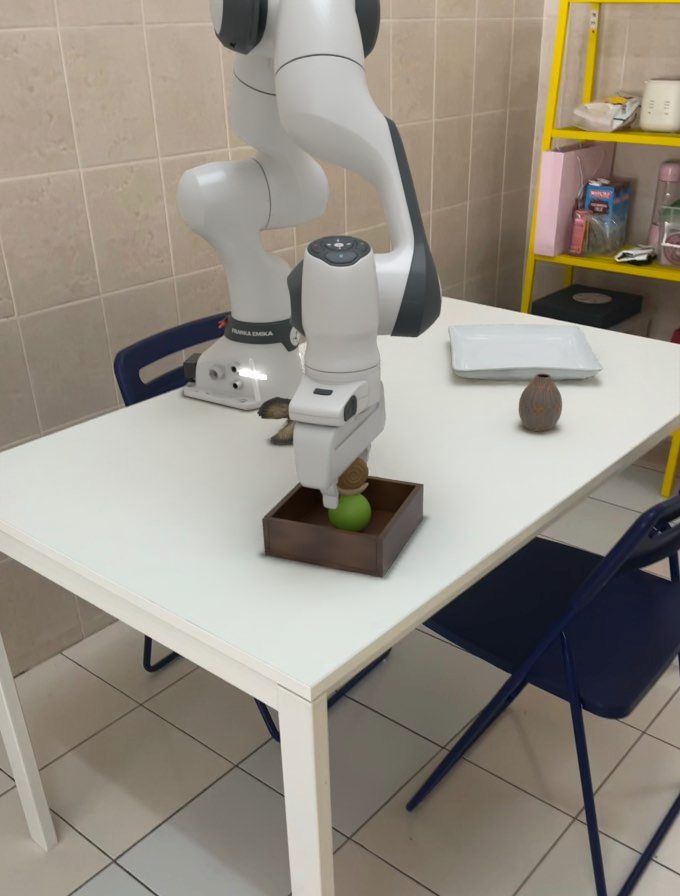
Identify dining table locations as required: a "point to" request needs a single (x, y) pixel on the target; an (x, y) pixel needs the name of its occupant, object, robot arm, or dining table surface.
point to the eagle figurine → (279, 410)
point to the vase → (540, 404)
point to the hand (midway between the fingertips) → (346, 490)
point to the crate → (317, 542)
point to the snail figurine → (352, 499)
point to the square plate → (521, 352)
